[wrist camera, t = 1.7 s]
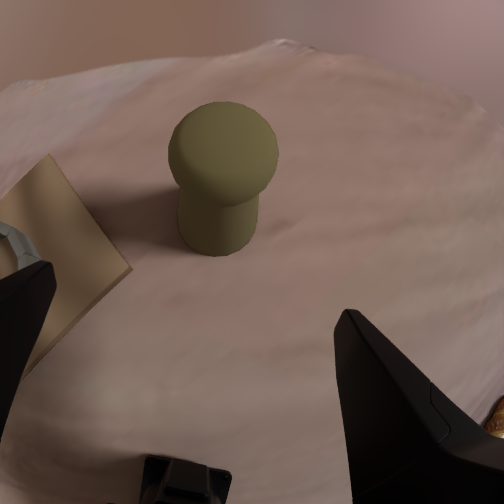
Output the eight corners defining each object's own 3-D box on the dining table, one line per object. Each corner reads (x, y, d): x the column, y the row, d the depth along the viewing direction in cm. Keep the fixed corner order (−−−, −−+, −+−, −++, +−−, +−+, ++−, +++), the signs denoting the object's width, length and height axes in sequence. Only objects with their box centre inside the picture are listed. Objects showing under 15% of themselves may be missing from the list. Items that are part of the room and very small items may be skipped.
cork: (272, 212, 24) (320, 132, 13) (222, 273, 22) (235, 227, 11) (212, 166, 24) (219, 66, 13) (160, 222, 22) (126, 141, 12)
